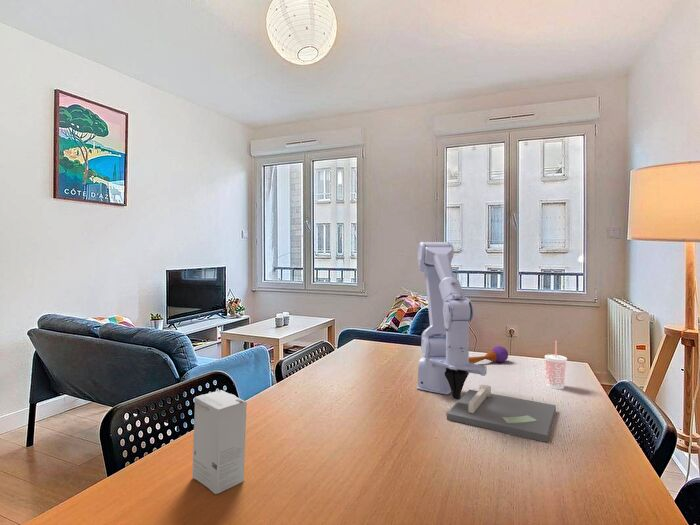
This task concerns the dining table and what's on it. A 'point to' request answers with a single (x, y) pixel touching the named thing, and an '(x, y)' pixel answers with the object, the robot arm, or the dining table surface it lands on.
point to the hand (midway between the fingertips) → (456, 398)
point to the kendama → (492, 355)
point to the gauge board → (506, 415)
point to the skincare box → (219, 440)
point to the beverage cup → (555, 370)
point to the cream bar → (479, 397)
